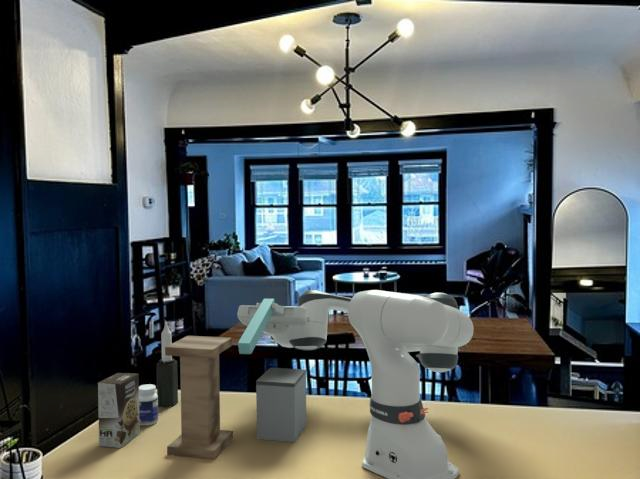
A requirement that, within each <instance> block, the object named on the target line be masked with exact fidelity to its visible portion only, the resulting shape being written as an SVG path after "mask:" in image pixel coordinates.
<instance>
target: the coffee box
mask: <svg viewBox="0 0 640 479" xmlns="http://www.w3.org/2000/svg"><path fill="white" fill-rule="evenodd" d="M139 375H140V374H139V373H135V372H134V373H130V372H116V373H115V374H112V375H110V376H109V377H107V378H104V379H103V380H100V381H98V382H97V402H98V404H97V406H98V408H97V410H98V417H97V418H98V446H99V447H106V448H107V447H109V448H117V449H121V448H123V447H125V445H127V444H128V443H129V442H131V441H132V440H134V439H135V438H136V437H137V436H139V435H141V434H140V433H141V432H140V427H141V425H140V421H139V386H140V381H139V380H140V378H139V377H140V376H139Z"/></svg>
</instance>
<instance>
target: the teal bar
mask: <svg viewBox="0 0 640 479" xmlns="http://www.w3.org/2000/svg"><path fill="white" fill-rule="evenodd" d="M260 303H261V305H260V306H259V308H258V310H257V311H256V313H255V315H254V316H253V318H252V320H251V322H250V323H249V325H248V326H246V329H244V332H243V333H242V336H240V338H239V340H238V342H237V347H238V352H239V355H252V354H253V351H254V350H255V348H256V345H257V344H258V342H259V340H260V338H261V336H262V334H263V333H262V332H263V331H264V329H265V327H266V325H267V323H268V321H269V319H270V317H271V315H272V314H273V312H274V311H272V310H271V306H272V303H275V298H263V300H262V301H261V302H260Z"/></svg>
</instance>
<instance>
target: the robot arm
mask: <svg viewBox="0 0 640 479" xmlns="http://www.w3.org/2000/svg"><path fill="white" fill-rule="evenodd" d="M261 303H262V302H256V305H248V304H247V305H245V304H241V305H239V306H238V309H237V313H236V314H237V318H238V320H239V321H240V322H241V323H242V324H243V325H245V326H246V327H248V325H249V323H250V322H251V320H252V318H253V316H254V315H255V313H256V311H257V310H258V308H259V306H260V305H261ZM271 310H272V311H274V312H273V314H272V315H271V317H270V319H269V321H268V323H267V325H266V327H265V329H264V331H263V332H262V334H265V335H267V336H271V337H272V338H271V339H273V340H274V341H275V342H276V343H277V344H279V345H280V346H282V347H283V348H289V349H291V348H294V349H295V350H298V351H299V350H300V351H306V352H307V351H316V350H318V349H320V348H321V347H322V346H324V345H325V344H327V340H328V339H327V336H328V324H329V322H328V321H329V312H330V311H331V310H333V311H337V312H338V311H339V312H344V313H347V317H348V322H349V323H350V325H351V326H352V327H353V329H354V330H355V331H356V332H357V334H359V336H360V338H361V340H362V342H363V344H364V346H365V350H366V352H367V356H368V359H369V362H370V370H371V371H370V372H371V396H370V398H369V413H370V415H371V417H370V421H369V426H368V428H367V433H366V434H367V436H366V445H365V452H364V458H363V460H362V462H361V466H362V468H363V469H366V470H368V471H371V472H373V473H375V474H377V475H379V476H382V477H384V478H385V479H456V478H457V477H458V476H459V474H460V470H459V468H458V467H457V465H455V464H453V463H452V462H450V461H449V459H448V450H447V446H446V444H445V443H444V441H443V439H442V436H441V435H440V434H438V433H437V432H436V430H435V429H434V428H433V427H432V426H431V424H430V423H429V422H428V420H427V419H426V414H427V413H428V414H429V411H428V410H429V408H428V407H424V405H423V401H422V399H421V398H420V395H421V394H420V390H421V388H420V385H421V384H420V383H421V380H420V379H421V376H420V375H421V374H420V372H421V371H420V370H421V369H420V366H419V364H418V362H417V361H416V360H415V359H414V357H412V356H411V355H410V353H411V352H412V353H413V352H419V353H418V354H417V353H416V354H415V357H416V358H418V360H419V362H420V364H421V365H422V366H423V368H425V369H426V370H427V369H428V370H429V371H431V372H436V373H445V372H449V371H451V370H454V369H455V368H456V367H457V365H458V360H459V355H458V352H459V351H458V350H459V347H463V346H465V345H467V344H468V343H470V341H471V340H472V338H473V335H474V329H475V328H474V323H473V321H472V319H471V318H470V316H469V315H467V314H466V313H465V312H464V311H462V310H460V309H459V306H458V302H457V300H456V299H455V297H454V296H452V295H451V294H447V293H444V292H433V293H430V294H426V295H419V294H412V293H405V292H403V293H402V292H395V291H388V290H387V291H386V290H382V289H381V290H379V289H370V290H369V289H368V290H363V291H358V292H356V293H355V294H354V295H353V296H352V297H349V296H348V297H346V296H344V295H343V296H341V295H337V294H331V293H328V292H326V291H321V290H318V289H317V290H316V289H308V290H306V291H304V292H303V293H302V294H301V295H300V296H299V297H298V299H297V306H296V305H295V306H293V305H292V306H291V305H290V306H287V305H285V306H284V305H279V304H278V303H272V306H271Z"/></svg>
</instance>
